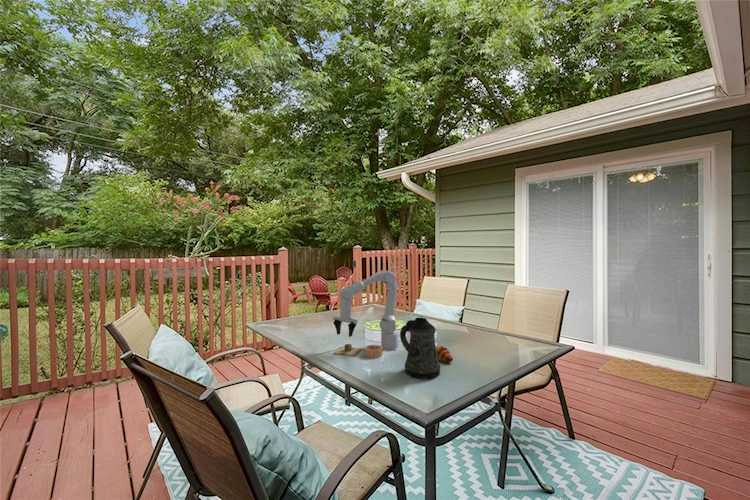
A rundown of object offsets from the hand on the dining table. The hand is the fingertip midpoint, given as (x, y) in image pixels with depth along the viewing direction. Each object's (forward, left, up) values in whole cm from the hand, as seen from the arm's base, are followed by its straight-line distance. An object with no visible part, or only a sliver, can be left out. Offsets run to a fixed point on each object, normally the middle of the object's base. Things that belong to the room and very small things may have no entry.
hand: (344, 335), depth 185 cm
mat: (-2, -2, -10) cm, 10 cm away
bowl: (-17, 0, -10) cm, 19 cm away
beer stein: (-43, +16, -10) cm, 47 cm away
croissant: (-50, -7, -10) cm, 52 cm away
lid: (-2, -2, -9) cm, 9 cm away
